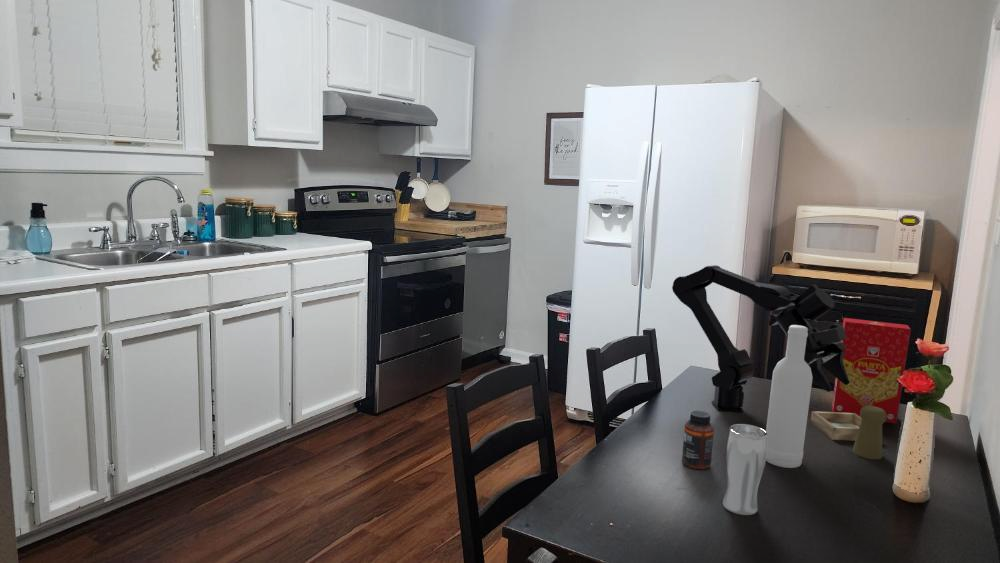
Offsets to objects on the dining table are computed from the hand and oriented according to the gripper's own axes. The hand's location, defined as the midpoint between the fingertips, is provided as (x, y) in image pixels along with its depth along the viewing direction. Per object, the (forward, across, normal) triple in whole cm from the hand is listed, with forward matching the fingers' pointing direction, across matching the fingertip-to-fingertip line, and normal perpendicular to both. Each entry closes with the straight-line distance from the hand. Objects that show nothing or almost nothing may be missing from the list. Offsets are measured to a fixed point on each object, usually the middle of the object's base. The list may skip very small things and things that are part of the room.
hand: (839, 387), depth 156 cm
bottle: (+8, -21, +11) cm, 25 cm away
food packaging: (+7, +27, +12) cm, 30 cm away
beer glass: (+13, -48, +7) cm, 50 cm away
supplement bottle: (+2, -38, +18) cm, 42 cm away
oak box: (+8, +9, +10) cm, 16 cm away
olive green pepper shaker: (+15, 0, +4) cm, 16 cm away
